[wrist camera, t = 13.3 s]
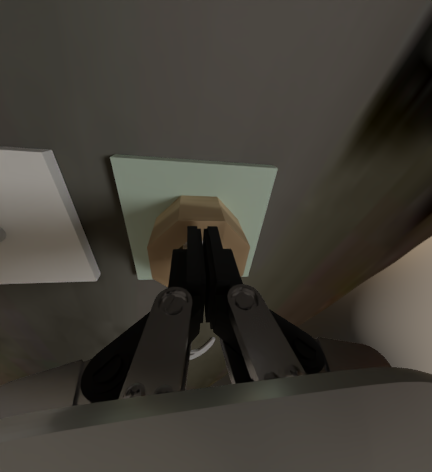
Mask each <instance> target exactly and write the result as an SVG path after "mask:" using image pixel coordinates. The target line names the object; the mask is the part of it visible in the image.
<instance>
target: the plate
mask: <svg viewBox="0 0 432 472" xmlns="http://www.w3.org/2000/svg"><path fill="white" fill-rule="evenodd" d="M110 160H111V164H112V168H113V173H114V177H115V181H116V186H117V190H118V194H119V199H120V203H121V207H122V212H123V216H124V220H125V225H126V229H127V233H128V238H129V242H130V246H131V251H132V255H133V259H134V264H135V268H136V272H137V276H138V280H148V279H153V278H152V275H151V269H150V263H149V257H148V251H147V246H148V243H149V239H150V236H151V233H152V230H153V227H154V224H155V221H156V218H157V217H158V216H159V215H160V214H161V213H162V212H163V211H164V210H165V209H167V208H168V207H169V206H170V205H171V204H172V203H173V202H174V201H175V200H176V199H177V198H178V197H180V196H181V195H185V196H212V197H218V198H219V199H220V200H221V201H222V203H223V204H224V205H225V206H226V207H227V208H228V209H229V210H230V211H231V212H232V214H233V215H234V216H235V217H236V218H237V219H238V221H239V223H240V225H241V228H242V230H243V232H244V234H245V236H246V239H247V241H248V243H249V245H250V250H249V254H248V258H247V262H246V266H245V270H244V274H243V276H248V274H249V271H250V267H251V263H252V260H253V256H254V253H255V249H256V245H257V242H258V238H259V235H260V231H261V227H262V224H263V220H264V216H265V213H266V209H267V206H268V202H269V198H270V195H271V191H272V187H273V184H274V180H275V177H276V173H277V169H278V168H276V167H275V166H273V165H262V164H247V163H233V162H219V161H205V160H190V159H176V158H162V157H147V156H133V155H119V154H115V155H113V156H111V157H110ZM202 244H203V241H202ZM183 249H187V242H186V243H185V244H184V245H183ZM243 276H241V277H243Z"/></svg>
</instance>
